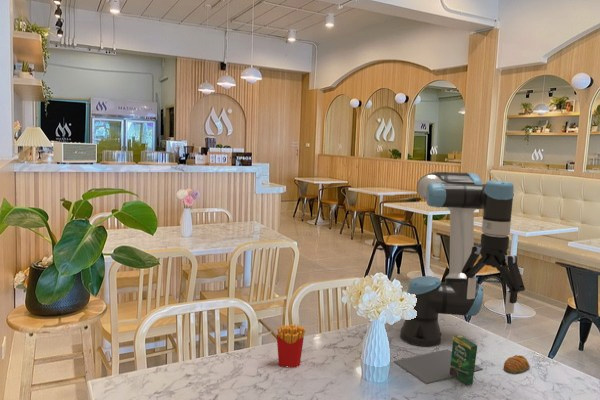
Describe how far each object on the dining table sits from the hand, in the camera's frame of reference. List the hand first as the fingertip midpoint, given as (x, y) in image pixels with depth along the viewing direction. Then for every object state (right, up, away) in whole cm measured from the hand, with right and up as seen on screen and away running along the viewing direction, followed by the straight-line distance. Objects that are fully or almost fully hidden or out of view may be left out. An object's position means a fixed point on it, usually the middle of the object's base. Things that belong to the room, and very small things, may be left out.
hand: (489, 305), depth 138 cm
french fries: (-59, -23, +16) cm, 65 cm away
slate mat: (-10, -24, +19) cm, 32 cm away
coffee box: (-5, -25, +10) cm, 28 cm away
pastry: (+17, -26, +19) cm, 36 cm away
